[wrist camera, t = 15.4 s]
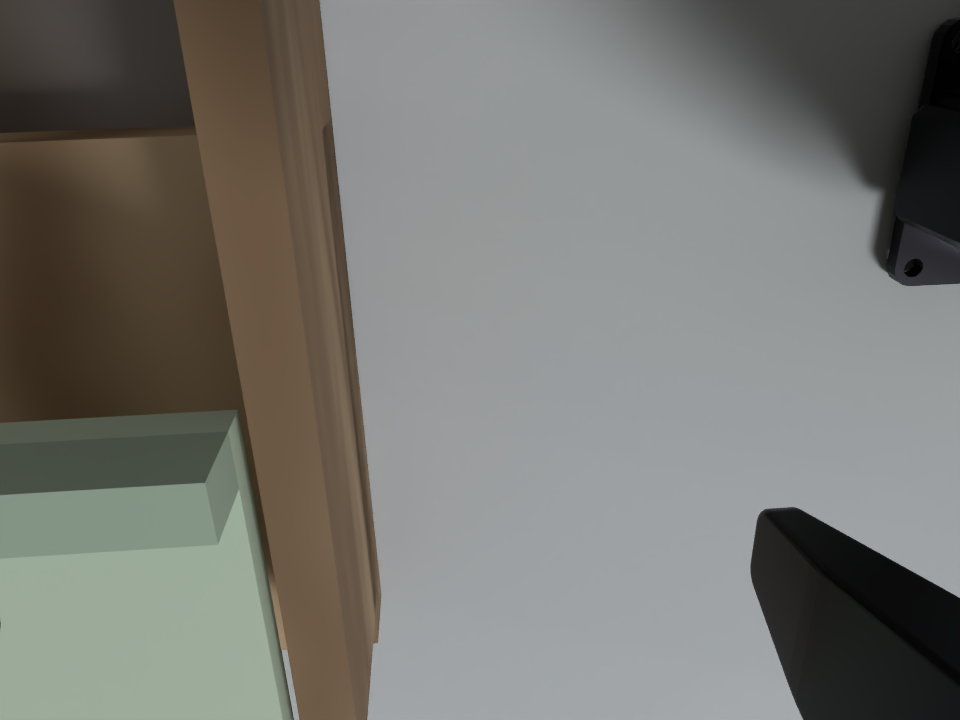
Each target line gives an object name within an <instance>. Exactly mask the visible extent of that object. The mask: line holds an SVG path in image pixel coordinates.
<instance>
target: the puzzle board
mask: <svg viewBox="0 0 960 720" xmlns="http://www.w3.org/2000/svg"><path fill="white" fill-rule="evenodd" d="M222 410H238V413H239V418H240V424H241V429H242V435H243V440H244V446H245V451H246V457H247V462H248V468H249V474H250V479H251V485H252V490H253V496H254V501H255V507H256V512H257V518H258V524H259V529H260V535H261V540H262V546H263V551H264V557H265V562H266V568H267V573H268V579H269V585H270V590H271V596H272V601H273V607H274V612H275V618H276V623H277V629H278V635H279V640H280V646H281V650H285V649H287V650H288V656H289V662H290V667H291V673H292V679H293V685H294V690H295V696H296V702H297V707H298V713H299V719H300V720H367V715H368V702H369V689H370V676H371V663H372V649H373V643H378V634H379V620H380V605H381V589H380V579H379V570H378V560H377V551H376V541H375V531H374V522H373V512H372V502H371V493H370V483H369V474H368V464H367V454H366V445H365V435H364V425H363V416H362V406H361V397H360V387H359V377H358V368H357V358H356V349H355V339H354V329H353V320H352V310H351V300H350V291H349V281H348V272H347V262H346V252H345V243H344V233H343V223H342V214H341V204H340V195H339V185H338V175H337V166H336V156H335V146H334V137H333V127H332V118H331V108H330V98H329V89H328V79H327V69H326V60H325V50H324V41H323V31H322V21H321V12H320V2H319V0H0V423H7V422H25V421H43V420H61V419H79V418H97V417H115V416H132V415H150V414H168V413H186V412H204V411H222Z"/></svg>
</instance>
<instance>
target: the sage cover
mask: <svg viewBox="0 0 960 720" xmlns="http://www.w3.org/2000/svg"><path fill="white" fill-rule="evenodd" d="M0 621H1V628H0V720H294V718H293V712H292V707H291V701H290V696H289V690H288V684H287V679H286V673H285V668H284V662H283V657H282V651H281V646H280V640H279V635H278V629H277V623H276V618H275V612H274V607H273V601H272V596H271V590H270V585H269V579H268V573H267V568H266V562H265V557H264V551H263V546H262V540H261V535H260V529H259V524H258V518H257V512H256V507H255V501H254V496H253V490H252V485H251V479H250V474H249V468H248V462H247V457H246V451H245V446H244V440H243V435H242V429H241V424H240V418H239V413H238V410H222V411H204V412H186V413H168V414H150V415H132V416H115V417H97V418H79V419H61V420H43V421H25V422H7V423H0Z"/></svg>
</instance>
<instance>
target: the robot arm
mask: <svg viewBox="0 0 960 720" xmlns="http://www.w3.org/2000/svg"><path fill="white" fill-rule="evenodd" d="M959 31H960V17H957V18H953V19H949V20H947V21H946V22H944V23H943V24H941V25H940V27H939V28H938V29H937V30H936V32H935V34H934V36H933V39H932V42H931V47H930V52H929V57H928V62H927V67H926V72H925V77H924V82H923V87H922V92H921V96H920V101H919V106H918V111H917V112H916V113H915V114H914V115H913V117H912V122H911V127H910V132H909V137H908V142H907V147H906V152H905V157H904V162H903V167H902V172H901V177H900V182H899V187H898V192H897V197H896V202H895V207H894V213H895V214H896V221H895V226H894V231H893V236H892V241H891V246H890V251H889V256H888V261H887V272H888V274H889V276H890V277H891V278H892V279H894V280H895V281H897V282H899V283H900V284H902V285H906V286H920V285H940V284H959V283H960V47H958V48H957V49H956V50H955V51H954V50H953V48H952V40H953V38H954V36H955V35H956V34H957V33H958V32H959ZM912 259H914V265H913V267H912V268H911V269H910V270H909V271H907V272H904V267H905V265H906V263H907V262H909V261H910V260H912ZM751 578H752V583H753V586H754V589H755V592H756V595H757V598H758V600H759V603H760V606H761V609H762V612H763V614H764V617H765V620H766V623H767V626H768V629H769V631H770V634H771V637H772V640H773V643H774V645H775V648H776V651H777V654H778V657H779V659H780V662H781V665H782V668H783V671H784V674H785V676H786V679H787V682H788V685H789V687H790V690H791V692H792V695H793V698H794V700H795V703H796V705H797V707H798V709H799V711H800V714H801V716H802V718H803V720H960V598H959V597H957V596H955V595H954V594H952V593H950V592H948V591H946V590H945V589H943V588H941V587H939V586H937V585H936V584H934V583H932V582H930V581H928V580H927V579H925V578H923V577H921V576H919V575H918V574H916V573H914V572H912V571H910V570H909V569H907V568H905V567H903V566H901V565H900V564H898V563H896V562H894V561H892V560H890V559H889V558H887V557H885V556H883V555H881V554H880V553H878V552H876V551H874V550H872V549H871V548H869V547H867V546H865V545H863V544H862V543H860V542H858V541H856V540H854V539H853V538H851V537H849V536H847V535H845V534H844V533H842V532H840V531H838V530H836V529H835V528H833V527H831V526H829V525H827V524H826V523H824V522H822V521H820V520H818V519H817V518H815V517H813V516H811V515H809V514H808V513H806V512H804V511H802V510H800V509H798V508H794V507H788V508H773V509H765V510H763V511H762V512H761V513H760V514H759V516H758V519H757V525H756V531H755V538H754V545H753V551H752V558H751ZM0 628H1V621H0Z"/></svg>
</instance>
